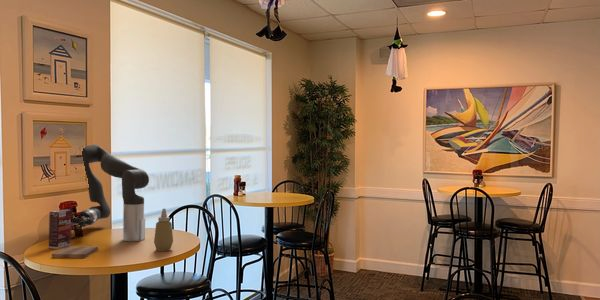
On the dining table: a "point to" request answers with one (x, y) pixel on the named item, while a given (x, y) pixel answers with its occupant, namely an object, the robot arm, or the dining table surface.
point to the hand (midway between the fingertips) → (71, 223)
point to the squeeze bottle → (163, 233)
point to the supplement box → (59, 228)
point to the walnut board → (75, 252)
